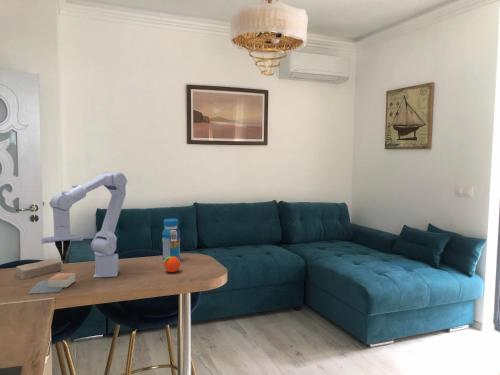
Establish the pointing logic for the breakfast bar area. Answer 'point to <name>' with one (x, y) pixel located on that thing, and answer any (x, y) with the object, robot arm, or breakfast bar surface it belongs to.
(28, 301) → the breakfast bar surface
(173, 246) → the beverage bottle
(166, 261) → the clementine
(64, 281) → the slab
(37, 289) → the mat
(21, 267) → the brick
